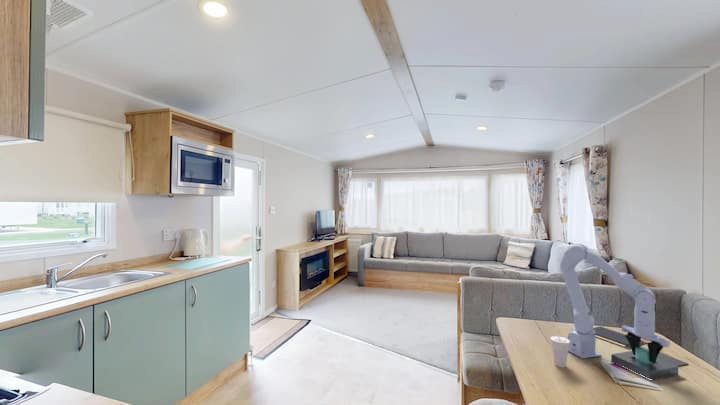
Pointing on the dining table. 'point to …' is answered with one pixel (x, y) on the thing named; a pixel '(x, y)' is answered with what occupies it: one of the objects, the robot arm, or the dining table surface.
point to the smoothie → (560, 350)
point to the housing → (645, 366)
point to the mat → (671, 360)
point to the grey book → (614, 337)
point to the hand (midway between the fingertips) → (644, 357)
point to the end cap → (642, 355)
